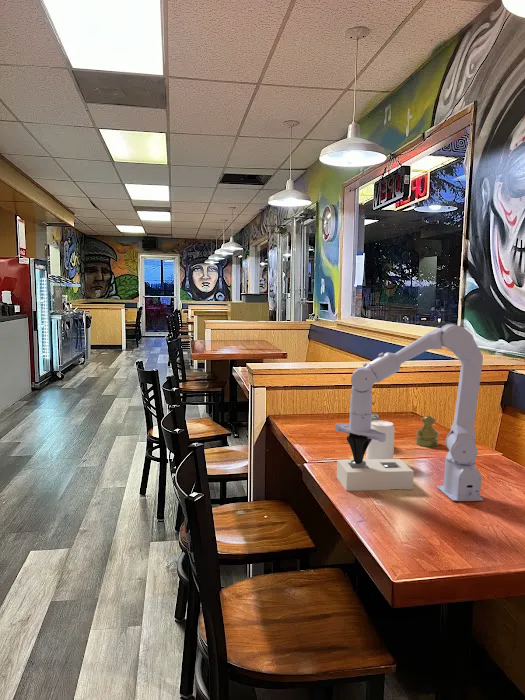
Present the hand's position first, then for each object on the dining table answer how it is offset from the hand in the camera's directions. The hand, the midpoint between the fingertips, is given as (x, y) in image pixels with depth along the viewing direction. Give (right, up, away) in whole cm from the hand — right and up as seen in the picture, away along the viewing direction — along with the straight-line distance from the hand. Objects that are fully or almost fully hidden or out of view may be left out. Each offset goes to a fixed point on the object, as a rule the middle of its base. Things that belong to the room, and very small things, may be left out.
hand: (358, 462), depth 135 cm
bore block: (+4, -6, +1) cm, 7 cm away
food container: (+11, -2, +40) cm, 41 cm away
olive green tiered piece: (+31, -3, +39) cm, 50 cm away
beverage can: (+10, -4, +20) cm, 23 cm away
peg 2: (+9, -6, +2) cm, 11 cm away
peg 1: (0, -4, 0) cm, 5 cm away
